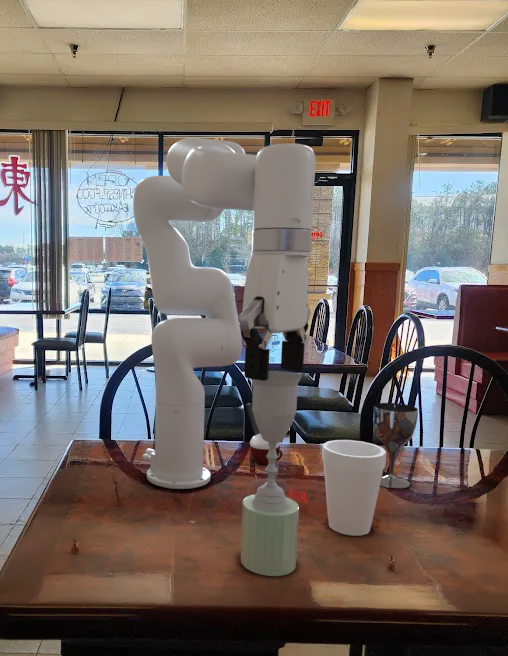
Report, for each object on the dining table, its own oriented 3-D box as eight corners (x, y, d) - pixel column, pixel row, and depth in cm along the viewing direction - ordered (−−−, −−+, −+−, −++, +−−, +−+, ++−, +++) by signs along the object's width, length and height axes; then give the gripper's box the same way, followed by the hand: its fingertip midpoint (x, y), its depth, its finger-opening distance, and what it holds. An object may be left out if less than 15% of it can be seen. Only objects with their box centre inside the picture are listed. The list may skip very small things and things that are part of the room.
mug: (297, 579, 75) (300, 517, 74) (239, 572, 77) (241, 512, 76) (293, 543, 86) (295, 488, 85) (242, 538, 87) (244, 484, 86)
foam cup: (349, 544, 85) (354, 460, 84) (306, 521, 93) (310, 444, 92) (393, 532, 90) (399, 452, 88) (348, 511, 98) (353, 437, 96)
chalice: (284, 518, 74) (291, 381, 72) (236, 506, 77) (241, 376, 75) (302, 500, 80) (308, 373, 78) (257, 490, 84) (261, 369, 81)
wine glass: (404, 475, 116) (409, 403, 114) (418, 490, 108) (424, 412, 106) (364, 473, 117) (369, 402, 115) (375, 487, 109) (380, 411, 107)
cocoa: (287, 467, 120) (289, 411, 119) (259, 469, 119) (262, 413, 117) (266, 453, 129) (268, 402, 128) (241, 455, 128) (243, 403, 126)
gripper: (286, 248, 83) (280, 364, 86) (219, 242, 70) (215, 379, 73) (335, 247, 79) (328, 370, 81) (274, 241, 65) (267, 387, 68)
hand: (274, 374), depth 77 cm, fingers open, 9 cm apart
